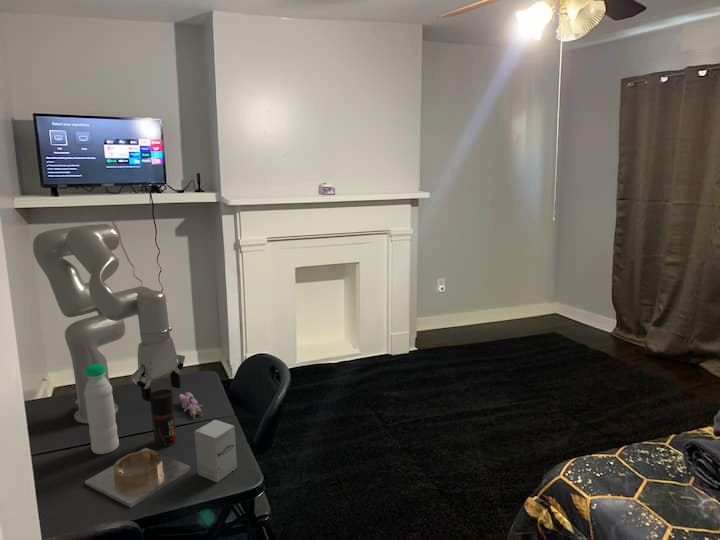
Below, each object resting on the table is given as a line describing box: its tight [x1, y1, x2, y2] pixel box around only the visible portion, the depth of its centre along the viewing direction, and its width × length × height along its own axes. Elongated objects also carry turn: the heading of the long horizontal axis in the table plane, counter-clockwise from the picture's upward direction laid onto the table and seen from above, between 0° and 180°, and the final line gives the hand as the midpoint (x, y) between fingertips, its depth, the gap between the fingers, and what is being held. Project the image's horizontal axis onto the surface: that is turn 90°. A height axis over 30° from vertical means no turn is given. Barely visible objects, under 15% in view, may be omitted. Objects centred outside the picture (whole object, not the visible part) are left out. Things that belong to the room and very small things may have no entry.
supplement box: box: [194, 419, 238, 483], centre depth 142 cm, size 7×7×13 cm
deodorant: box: [150, 389, 178, 449], centre depth 156 cm, size 6×6×15 cm
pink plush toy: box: [178, 391, 204, 419], centre depth 176 cm, size 6×6×15 cm
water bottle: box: [84, 364, 120, 455], centre depth 152 cm, size 7×7×25 cm
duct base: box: [84, 447, 191, 508], centre depth 141 cm, size 18×18×4 cm
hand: (162, 393), depth 154 cm, fingers open, 9 cm apart
